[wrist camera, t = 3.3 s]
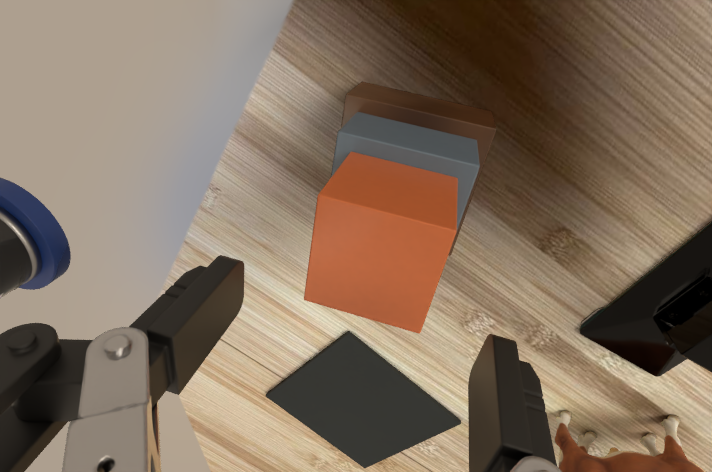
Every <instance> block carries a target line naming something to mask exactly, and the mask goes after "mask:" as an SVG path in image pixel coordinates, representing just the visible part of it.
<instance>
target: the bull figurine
mask: <svg viewBox="0 0 712 472" xmlns="http://www.w3.org/2000/svg"><path fill="white" fill-rule="evenodd" d="M571 417H572V416H571V412H568V411H562V412H561V414H560V417H556V422H557V434H556V437H555V442H556V444H557V445H558V446H559V447H560V454H559V469H560V470H561V471H562V472H706V471H705V470H703V469H702V468H701V467H699V466H698V465H697V464H695V463H694V462H692V461H691V460H688V459H687V458H686V456H685V454H684V452H683V450H682V448H681V442H680V440H679V438H678V437H677V426H678V424H679V423H680V418H679V417H678V416H675V415H669V416H668V417H667V419H664V420H663V421H662V422H661V424H662V426H663V427H664V428H665V430H666V437H665V439H664V442H665V449H664V453H662V454H661V453H660V452H659V451H658V450H657V448H656V445H655V442H656V439H657V436H656V435H655V434H652V433H648V434H647V435H646V436H643V437H642V439H640V442H641V443H642V444H643V445H644V446H645V447H646V448H647V449H648V450H649V452H650V454H651V455H647V454H643V453H638V452H633V451H618V449H617V448H611V449H610V452H609V453H608V455H607V456H605V457H596V456H592V455H589V454H587V453H588V448H589V446H590V445H591V443H592V442H593V441H594V440H595V439H596V438H597V434H595V433H594V432H587V433H586V434H585V435H584V436H581V435H579V436H578V444H576V442H575V441H574V440H573V439H572V437H571V436H570V433H569V431H568V425H569V422H570V420H571Z"/></svg>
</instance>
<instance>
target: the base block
mask: <svg viewBox="0 0 712 472" xmlns="http://www.w3.org/2000/svg"><path fill="white" fill-rule="evenodd" d="M357 112H361V113H365V114H369V115H374V116H378V117H382V118H386V119H390V120H395V121H399V122H403V123H407V124H412V125H416V126H420V127H424V128H428V129H433V130H437V131H441V132H445V133H449V134H454V135H458V136H462V137H466V138H471V139H475V140H477V146H478V155H479V164H480V168H479V171H478V174H477V176H476V179H475V182H474V185H473V188H472V190H471V193H470V196H469V199H468V201H467V204H466V207H465V210H464V213H463V215H462V218H461V221H460V224H459V226H458V229H457V232H456V235H455V238H454V240H453V243H452V246H451V249H450V252H449V254H448V255H451V254H452V251H453V248H454V245H455V243H456V240H457V237H458V234H459V232H460V229H461V226H462V223H463V221H464V218H465V215H466V212H467V210H468V207H469V204H470V201H471V199H472V196H473V193H474V190H475V188H476V185H477V182H478V179H479V177H480V174H481V171H482V168H483V166H484V163H485V160H486V157H487V155H488V152H489V149H490V146H491V144H492V141H493V138H494V135H495V133H496V126H495V122H494V118H493V115H492V112H491V111H488V110H484V109H479V108H475V107H471V106H466V105H462V104H457V103H453V102H449V101H444V100H440V99H436V98H431V97H427V96H423V95H418V94H414V93H409V92H405V91H401V90H396V89H392V88H388V87H383V86H379V85H374V84H370V83H366V82H361V83H360V84H359V85H357V86H356V87H355V88H354V89H352V90H351V91H350V92H348V93H347V94H346V98H345V104H344V111H343V117H342V124H341V128H342V127H343V126H344V125H345V124H346V123H347V122H348V121H349V120H350V119H351V118H352V117H353V116H354V115H355V114H356V113H357Z"/></svg>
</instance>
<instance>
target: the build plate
mask: <svg viewBox="0 0 712 472" xmlns="http://www.w3.org/2000/svg"><path fill="white" fill-rule="evenodd" d="M579 331H580V333H581V334H582V335H584V336H585V337H587V338H589V339H591V340H592V341H594V342H596V343H598V344H599V345H601V346H603V347H605V348H606V349H608V350H610V351H612V352H613V353H615V354H617V355H619V356H621V357H622V358H624V359H626V360H628V361H629V362H631V363H633V364H635V365H636V366H638V367H640V368H642V369H643V370H645V371H647V372H649V373H650V374H652V375H654V376H661V375H662V374H664V373H665V372H667V371H669V370H670V369H672V368H673V367H675V366H677V365H678V364H680V363H681V362H683V361H684V360H686V359H689V360H691V361H693V362H694V363H696V364H698V365H700V366H701V367H703V368H705V369H707V370H708V371H710V372H712V221H711V222H710V223H709V224H707V225H706V226H705V227H704V228H703V229H701V230H700V231H699V232H698V233H696V234H695V235H694V236H693V237H691V238H690V239H689V240H688V241H686V242H685V243H684V244H683V245H682V246H680V247H679V248H678V249H677V250H675V251H674V252H673V253H672V254H670V255H669V256H668V257H667V258H665V259H664V260H663V261H662V262H661V263H659V264H658V265H657V266H656V267H654V268H653V269H652V270H651V271H649V272H648V273H647V274H646V275H644V276H643V277H642V278H641V279H640V280H638V281H637V282H636V283H635V284H633V285H632V286H631V287H630V288H628V289H627V290H626V291H625V292H624V293H622V294H621V295H620V296H619V297H617V298H616V299H615V300H614V301H612V302H611V303H610V304H609V305H607V306H606V307H604V308H600V309H597V310H596V311H595V312H593V313H592V314H591V315H590V316H589V317H587V318H586V319H585V320H584V321H582V323H581V326H580V328H579Z"/></svg>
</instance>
